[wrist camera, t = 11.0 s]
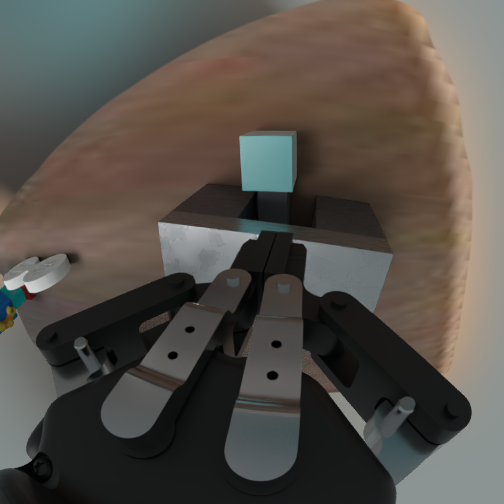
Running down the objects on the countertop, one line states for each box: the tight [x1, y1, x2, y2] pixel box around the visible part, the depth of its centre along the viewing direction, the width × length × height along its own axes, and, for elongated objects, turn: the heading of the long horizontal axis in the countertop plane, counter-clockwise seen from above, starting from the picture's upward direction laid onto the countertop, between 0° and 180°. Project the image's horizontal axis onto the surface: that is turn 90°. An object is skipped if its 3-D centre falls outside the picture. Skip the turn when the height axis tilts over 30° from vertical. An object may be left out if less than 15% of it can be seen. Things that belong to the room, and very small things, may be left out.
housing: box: [158, 184, 393, 313], centre depth 27 cm, size 18×8×12 cm, turn 88°
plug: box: [239, 131, 297, 225], centre depth 30 cm, size 4×21×6 cm, turn 2°
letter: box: [3, 254, 71, 293], centre depth 42 cm, size 22×2×10 cm, turn 101°
